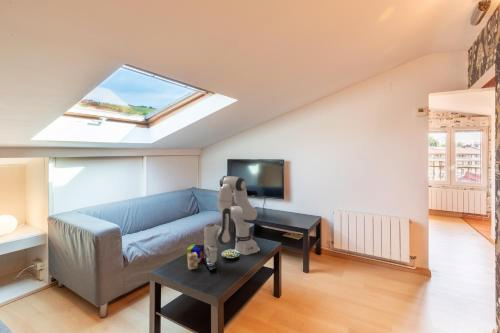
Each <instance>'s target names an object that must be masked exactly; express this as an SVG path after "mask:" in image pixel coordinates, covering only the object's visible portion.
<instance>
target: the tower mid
mask: <svg viewBox="0 0 500 333" xmlns="http://www.w3.org/2000/svg"><path fill="white" fill-rule="evenodd" d="M188 261H189V263H193V262H197V263H198V257H197V253H196V252H193V253H188ZM188 261H187V262H188Z"/></svg>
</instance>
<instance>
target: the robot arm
mask: <svg viewBox="0 0 500 333" xmlns="http://www.w3.org/2000/svg"><path fill="white" fill-rule="evenodd" d="M219 186H220V188H219V191H218V195H217V201H216V202H217V210H218V211H219V213H220V215H221V225H218V224H215V223H213V222H211V223H207V224H206V225H205V227H204V229H203V230H204V234H203V237H204V243H203V245H204V255H205V254H206V256H207V257H206V258H209V259H210V263H212V264H213V262H214V263H216V262H217V260H218V259H217V257H218V252H217V251H218V246H217V241H218V243H219V244H220V245H223V246H226V245H229V244H230V243H231V241H232V238H233V237H232V236H233V235H232V232H231V221H233V222H234V225H235V247H234V250H236V251H238V252H240V255H245V256H248V255H251V254H255V253H258V251H259V252H260V251H261V248H260V247H259V246H258V243H257V242H256V241H255V240H253V238H254V236H253V235H251V234H250V226H249V224H248V223H246V222H245V220H246V221H255V219H257V216H258V211H257V209H256V207H253V206H252V204H251V203H250V201H249V198H248V192H247V187H246V186H247V182H246V180H245V179H244V178H243V177H239V176H233V175H230V176H228V175H223V176H221V178H220V179H219ZM233 198H234V199H233ZM233 201H234V203H235V204H236V205H234V206H233Z"/></svg>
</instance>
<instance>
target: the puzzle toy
mask: <svg viewBox="0 0 500 333" xmlns="http://www.w3.org/2000/svg"><path fill="white" fill-rule="evenodd" d="M193 252H196V253H197V257H198V262H197V264H198V263H200V262H201V261H202V260H203V259H204V258H203V257H205V248H204V244H194V243H193V244H191V245H189V247H187V248H186V262H188V253H193Z"/></svg>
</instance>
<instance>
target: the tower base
mask: <svg viewBox="0 0 500 333" xmlns="http://www.w3.org/2000/svg"><path fill="white" fill-rule="evenodd" d="M187 267H188V270H189V271H191V270H196V269H198V262H193V263H189V261H187Z"/></svg>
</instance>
